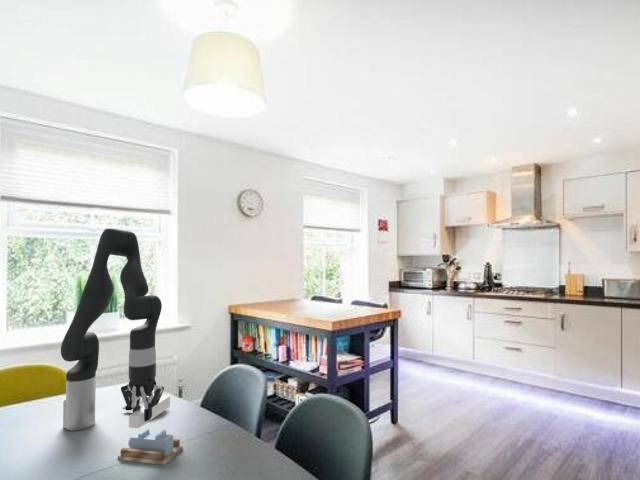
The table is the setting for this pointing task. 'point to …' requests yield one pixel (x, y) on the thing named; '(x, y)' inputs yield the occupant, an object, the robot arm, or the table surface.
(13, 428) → the table surface
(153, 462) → the jig
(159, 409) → the white rectangular bar
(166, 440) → the light blue stepped block
